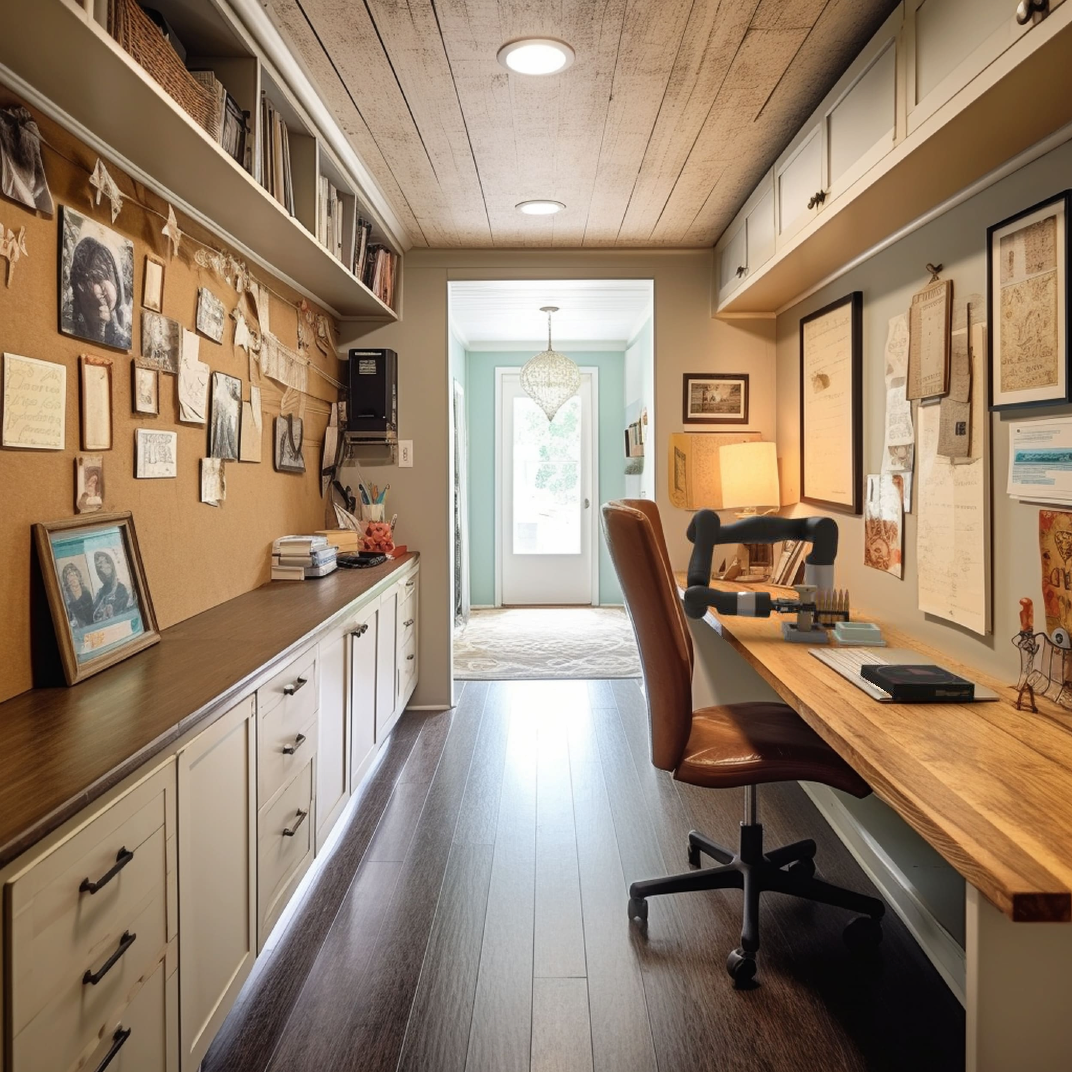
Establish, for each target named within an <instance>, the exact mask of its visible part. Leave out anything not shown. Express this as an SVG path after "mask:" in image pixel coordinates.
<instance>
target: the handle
mask: <svg viewBox="0 0 1072 1072" xmlns="http://www.w3.org/2000/svg"><path fill="white" fill-rule="evenodd" d="M793 591H795V592H796V593H798V600H799V602H798V603H802V604H803V603H804V604H811V594H812V593H814V592H815V591H817V586H815V585H805V584H793ZM796 614H797V616H796V622H797V629H805V630H811V622H813V616H812V612H804V611H802V612H801V613H796Z"/></svg>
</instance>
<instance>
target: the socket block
mask: <svg viewBox="0 0 1072 1072" xmlns="http://www.w3.org/2000/svg"><path fill="white" fill-rule="evenodd" d="M781 633H782V635H783V637H784V639H785V642H786V643H801V644H802V643H803V644H806V643H807V644H820V645H821V644H823V645H827V644H829V632H828V631H827V629H826V627H823V625H822V624H821V623H813V621H812V622H811V630H805V629H797V621H785V620H783V621H781Z"/></svg>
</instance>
